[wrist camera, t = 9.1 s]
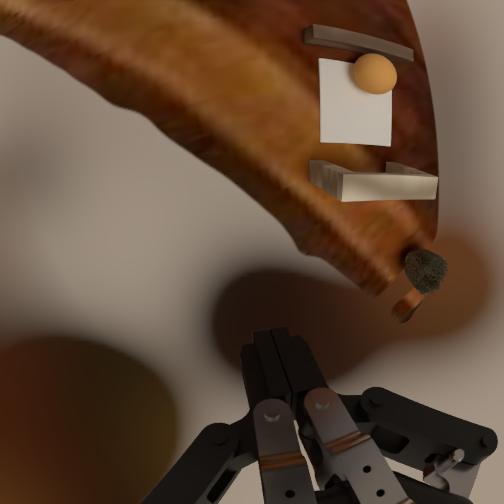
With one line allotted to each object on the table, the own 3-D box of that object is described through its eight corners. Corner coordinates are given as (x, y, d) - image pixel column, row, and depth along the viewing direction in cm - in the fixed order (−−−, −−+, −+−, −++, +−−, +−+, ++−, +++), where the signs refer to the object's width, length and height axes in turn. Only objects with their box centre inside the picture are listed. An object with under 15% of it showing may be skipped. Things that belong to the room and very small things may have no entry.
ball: (345, 92, 32) (343, 54, 30) (379, 99, 33) (377, 62, 31) (371, 87, 27) (368, 44, 24) (407, 96, 28) (403, 56, 25)
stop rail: (302, 30, 27) (312, 23, 24) (398, 51, 30) (412, 49, 27) (303, 43, 28) (313, 37, 25) (399, 63, 31) (413, 61, 28)
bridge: (309, 159, 36) (343, 174, 27) (395, 162, 38) (438, 177, 30) (309, 181, 37) (341, 201, 29) (394, 180, 40) (435, 198, 31)
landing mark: (318, 58, 30) (319, 58, 29) (390, 71, 31) (390, 71, 31) (319, 142, 35) (320, 142, 35) (389, 146, 37) (390, 146, 37)
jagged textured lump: (425, 236, 46) (452, 255, 39) (417, 270, 49) (441, 291, 42) (397, 240, 45) (425, 261, 38) (390, 276, 48) (414, 300, 41)
